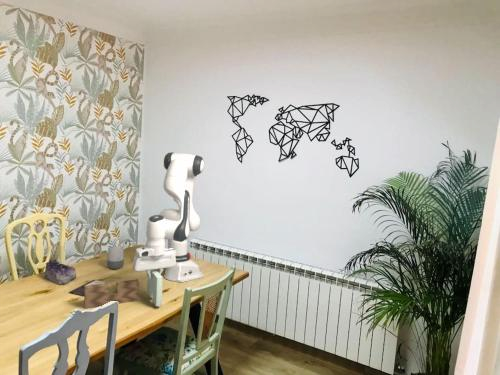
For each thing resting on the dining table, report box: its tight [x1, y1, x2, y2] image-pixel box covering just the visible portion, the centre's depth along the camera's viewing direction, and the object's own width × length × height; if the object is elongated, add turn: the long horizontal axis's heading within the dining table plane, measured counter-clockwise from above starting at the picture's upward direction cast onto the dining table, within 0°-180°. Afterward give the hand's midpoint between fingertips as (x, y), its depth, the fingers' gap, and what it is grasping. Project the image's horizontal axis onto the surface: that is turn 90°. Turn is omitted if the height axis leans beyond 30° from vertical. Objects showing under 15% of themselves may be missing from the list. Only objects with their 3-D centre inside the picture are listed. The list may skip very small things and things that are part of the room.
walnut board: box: [83, 278, 140, 310], centre depth 178 cm, size 24×2×10 cm, turn 121°
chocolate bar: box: [68, 279, 107, 298], centre depth 194 cm, size 9×1×18 cm
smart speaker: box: [106, 245, 125, 271], centre depth 223 cm, size 10×9×14 cm
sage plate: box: [146, 269, 164, 307], centre depth 182 cm, size 16×2×14 cm, turn 31°
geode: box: [44, 259, 77, 285], centre depth 202 cm, size 20×12×10 cm, turn 63°
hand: (154, 277), depth 182 cm, fingers closed on sage plate, 2 cm apart
